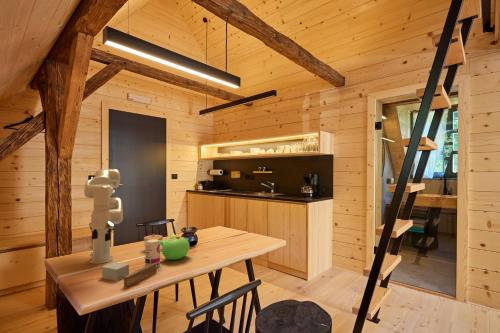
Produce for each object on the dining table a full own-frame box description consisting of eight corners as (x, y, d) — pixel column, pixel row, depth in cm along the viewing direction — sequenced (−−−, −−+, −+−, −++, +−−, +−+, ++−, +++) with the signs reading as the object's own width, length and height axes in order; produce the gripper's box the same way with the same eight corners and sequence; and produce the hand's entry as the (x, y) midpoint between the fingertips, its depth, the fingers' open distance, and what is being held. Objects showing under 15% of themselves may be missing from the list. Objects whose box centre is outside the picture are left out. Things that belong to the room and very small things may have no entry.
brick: (102, 278, 140) (102, 266, 140) (114, 272, 147) (114, 261, 147) (116, 281, 136) (116, 269, 136) (128, 275, 144) (128, 264, 144)
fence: (123, 286, 129) (124, 276, 129) (152, 272, 148) (152, 263, 148) (127, 287, 129) (128, 277, 129) (156, 272, 147) (156, 263, 147)
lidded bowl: (165, 247, 193) (165, 232, 193) (157, 253, 181) (158, 236, 181) (148, 247, 195) (149, 231, 195) (140, 252, 182) (140, 236, 182)
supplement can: (161, 263, 161) (161, 238, 161) (157, 268, 153) (157, 242, 153) (148, 263, 161) (148, 238, 161) (143, 268, 153) (143, 242, 153)
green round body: (176, 265, 159) (176, 240, 159) (154, 260, 166) (154, 237, 166) (194, 256, 175) (194, 233, 175) (174, 252, 182) (174, 231, 182)
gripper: (83, 208, 146) (83, 239, 145) (107, 210, 140) (107, 243, 139) (95, 206, 153) (95, 236, 152) (119, 208, 147) (118, 239, 146)
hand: (101, 239), depth 146 cm, fingers open, 9 cm apart
